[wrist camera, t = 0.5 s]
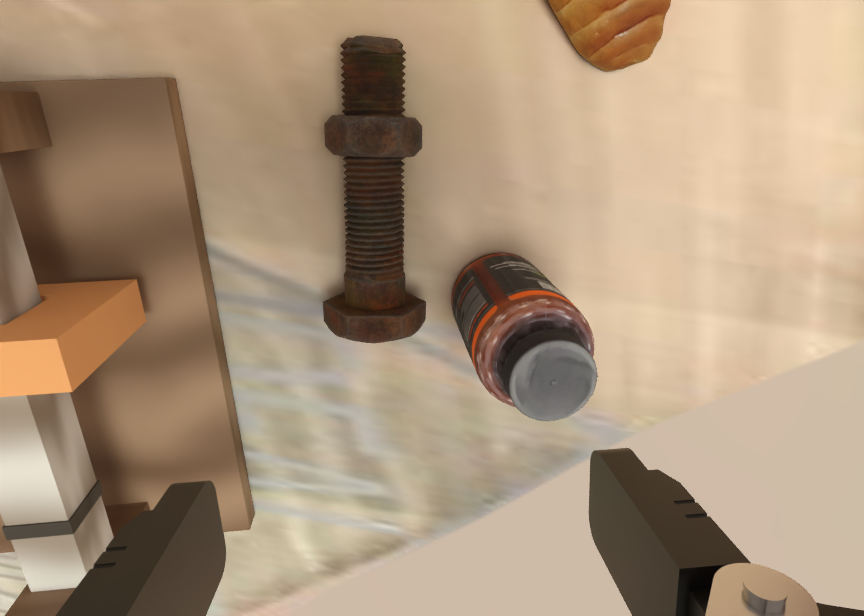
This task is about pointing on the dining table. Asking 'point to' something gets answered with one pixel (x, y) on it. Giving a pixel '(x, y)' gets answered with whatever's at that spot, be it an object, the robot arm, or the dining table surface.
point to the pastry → (612, 29)
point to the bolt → (373, 194)
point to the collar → (67, 335)
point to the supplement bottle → (524, 337)
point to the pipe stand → (138, 356)
